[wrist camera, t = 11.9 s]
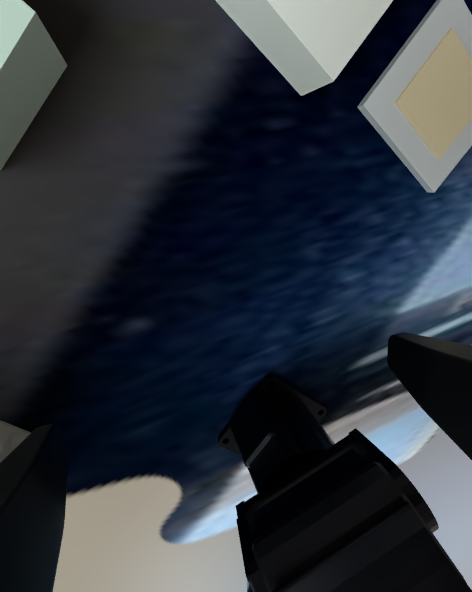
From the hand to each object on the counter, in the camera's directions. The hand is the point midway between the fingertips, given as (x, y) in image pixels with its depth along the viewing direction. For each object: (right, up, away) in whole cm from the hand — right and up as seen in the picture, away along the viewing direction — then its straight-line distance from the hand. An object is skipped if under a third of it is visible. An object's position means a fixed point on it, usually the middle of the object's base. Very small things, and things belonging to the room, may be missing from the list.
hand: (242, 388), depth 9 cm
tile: (+12, +15, +13) cm, 23 cm away
